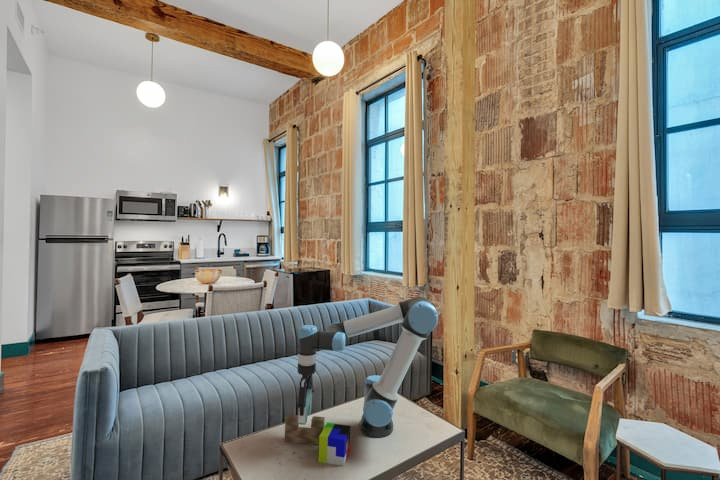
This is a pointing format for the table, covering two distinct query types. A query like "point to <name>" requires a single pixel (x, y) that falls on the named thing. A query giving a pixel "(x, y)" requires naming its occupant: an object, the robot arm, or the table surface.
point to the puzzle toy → (334, 444)
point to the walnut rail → (303, 430)
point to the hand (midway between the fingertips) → (305, 414)
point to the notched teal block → (308, 404)
